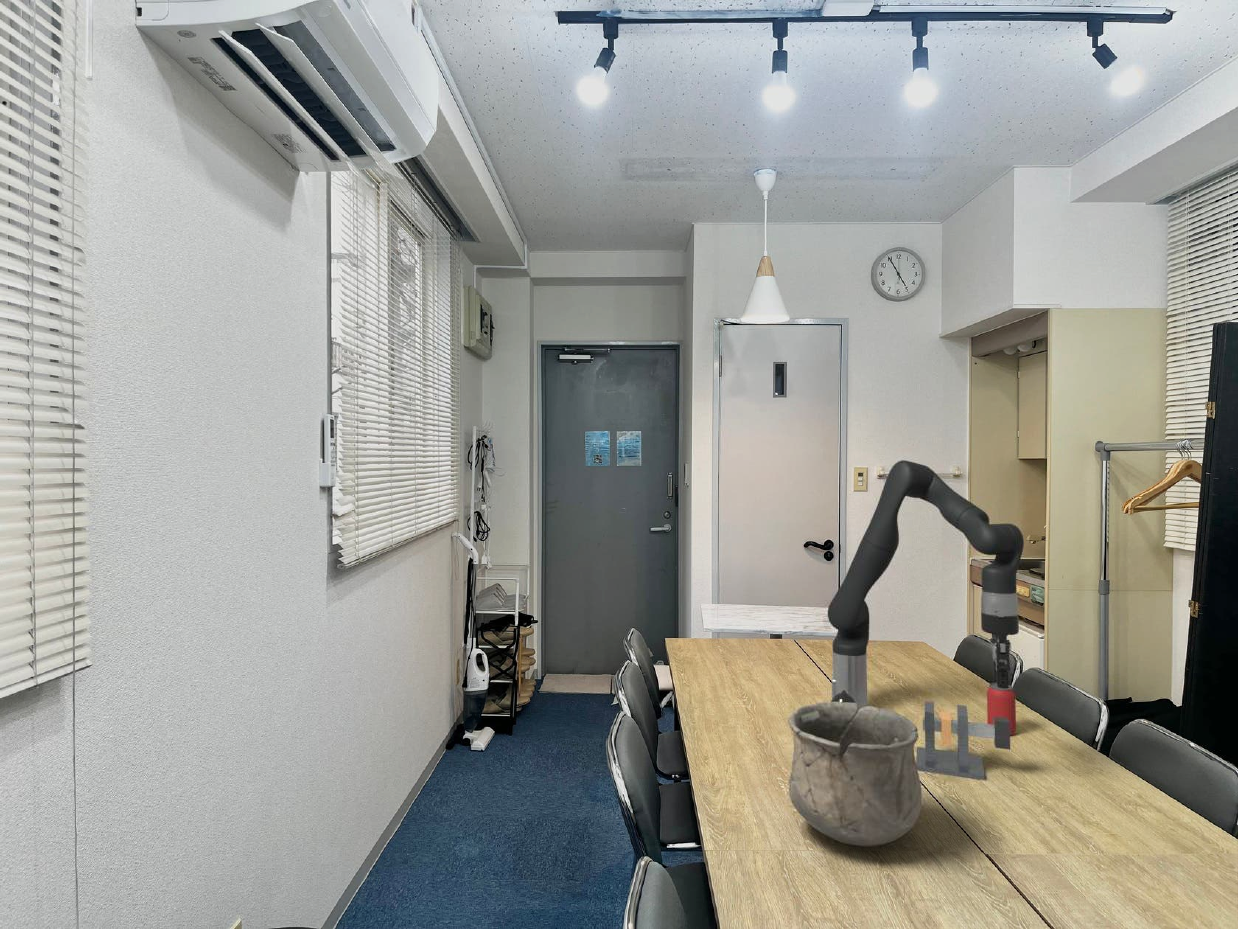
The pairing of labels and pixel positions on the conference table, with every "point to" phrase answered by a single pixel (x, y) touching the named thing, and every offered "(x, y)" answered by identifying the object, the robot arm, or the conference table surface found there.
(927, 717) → the stand
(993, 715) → the beer can
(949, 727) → the spacer
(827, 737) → the pot
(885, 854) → the conference table surface
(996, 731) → the shaft
